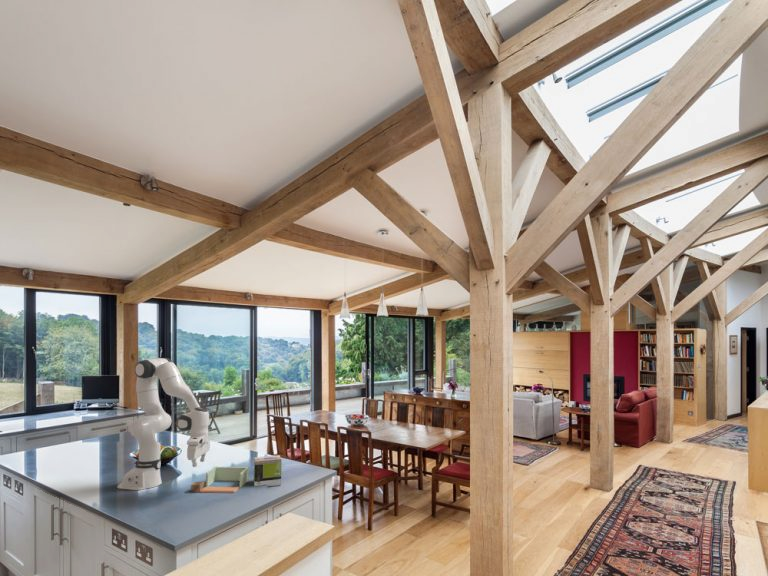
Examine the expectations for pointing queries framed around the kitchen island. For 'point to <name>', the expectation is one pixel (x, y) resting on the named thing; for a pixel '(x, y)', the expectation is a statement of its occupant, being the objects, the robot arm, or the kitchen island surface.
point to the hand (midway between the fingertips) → (198, 464)
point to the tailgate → (220, 489)
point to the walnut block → (197, 486)
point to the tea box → (267, 470)
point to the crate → (227, 475)
